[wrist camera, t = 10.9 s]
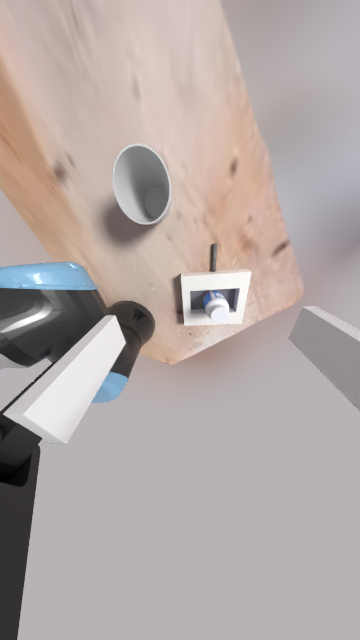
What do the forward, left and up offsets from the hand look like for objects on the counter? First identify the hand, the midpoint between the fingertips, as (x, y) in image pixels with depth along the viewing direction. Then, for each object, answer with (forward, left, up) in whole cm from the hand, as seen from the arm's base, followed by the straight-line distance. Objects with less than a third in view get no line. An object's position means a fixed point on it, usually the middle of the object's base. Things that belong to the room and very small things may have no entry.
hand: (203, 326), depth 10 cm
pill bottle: (+5, -9, -27) cm, 29 cm away
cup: (-7, +12, -27) cm, 30 cm away
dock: (+5, -6, -27) cm, 28 cm away
